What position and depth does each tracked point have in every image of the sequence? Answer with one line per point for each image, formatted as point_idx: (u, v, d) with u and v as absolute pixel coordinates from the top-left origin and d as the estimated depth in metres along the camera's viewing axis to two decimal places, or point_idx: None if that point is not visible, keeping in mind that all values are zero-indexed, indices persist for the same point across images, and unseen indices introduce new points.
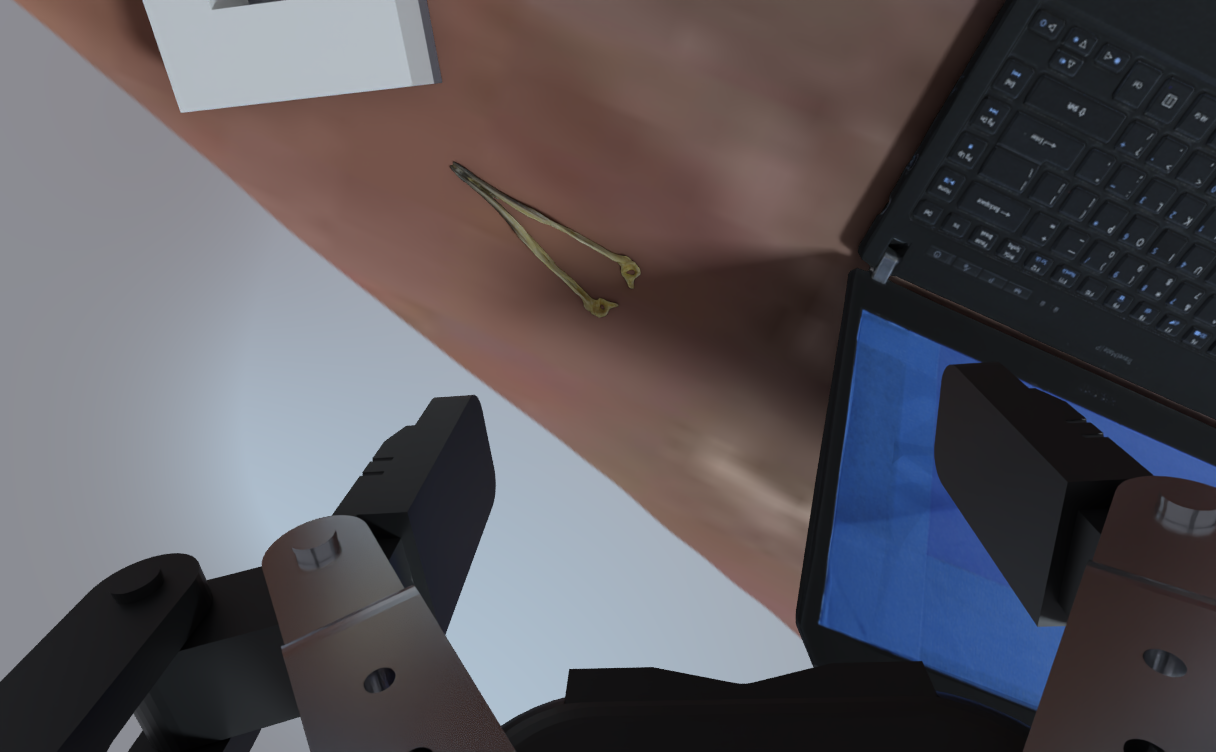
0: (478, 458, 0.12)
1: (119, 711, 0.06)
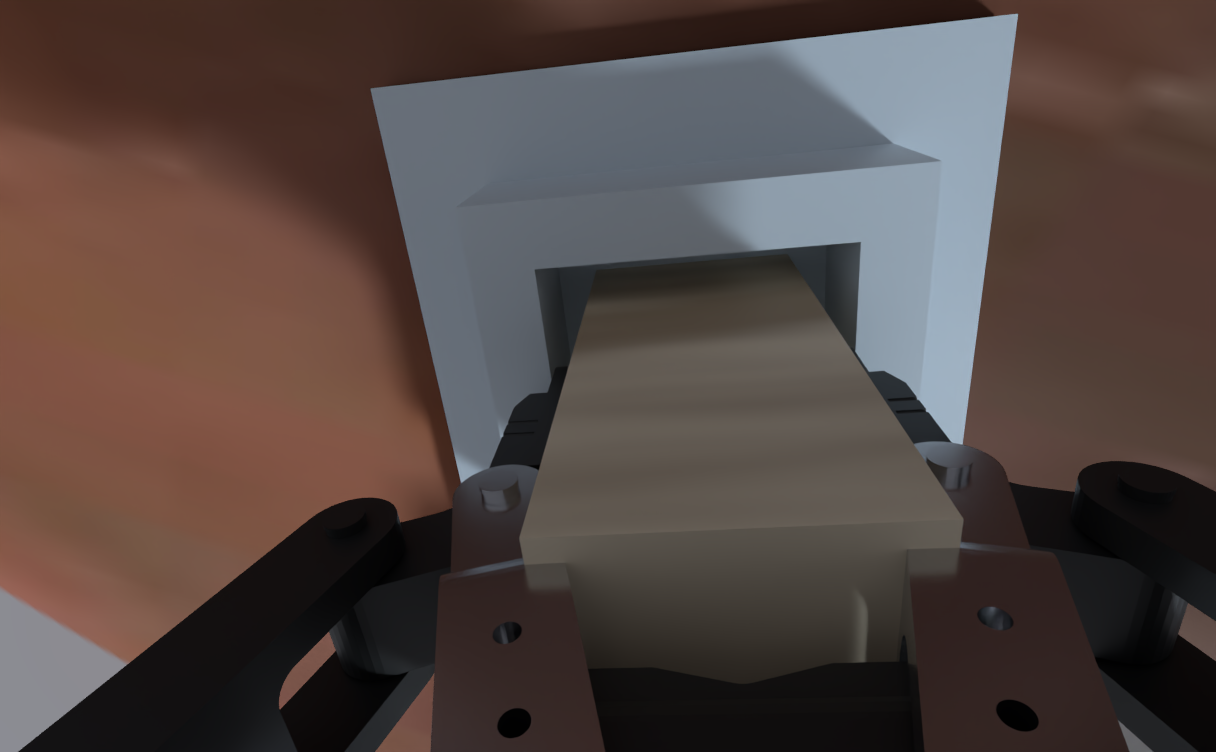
0: None
1: (303, 640, 0.07)
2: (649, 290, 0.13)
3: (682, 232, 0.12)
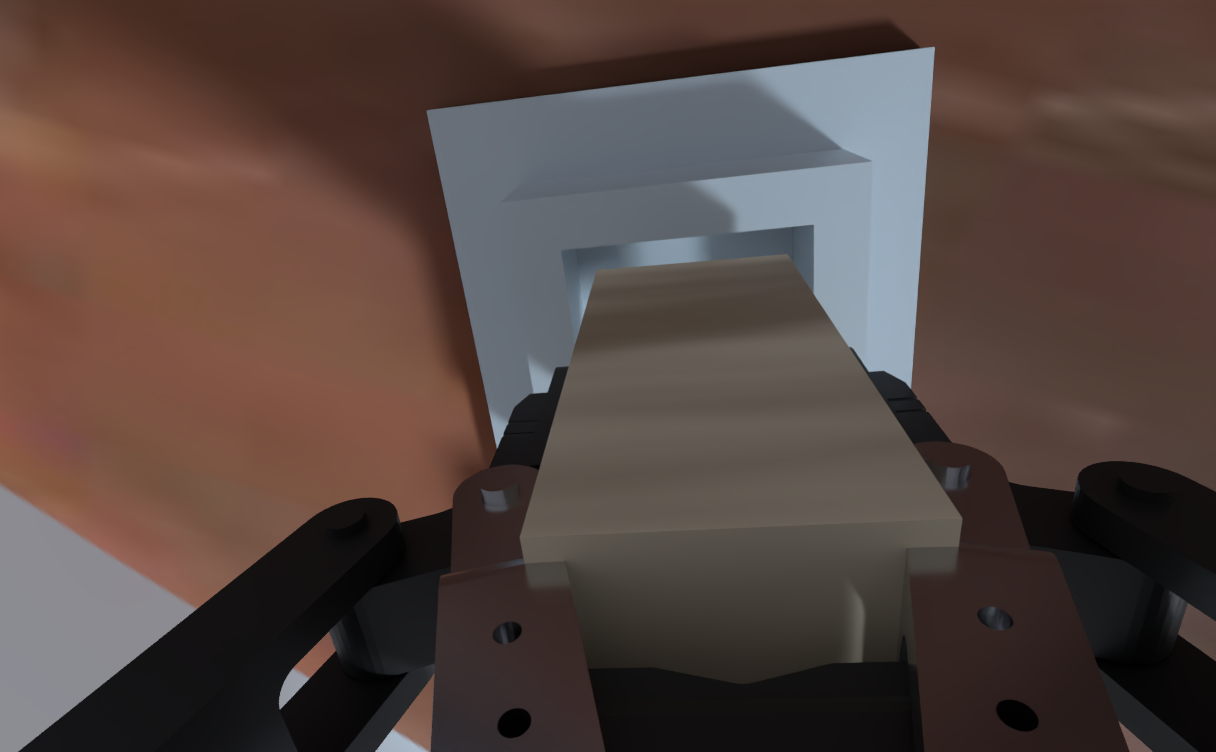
0: None
1: (303, 640, 0.07)
2: (649, 289, 0.13)
3: (676, 219, 0.15)
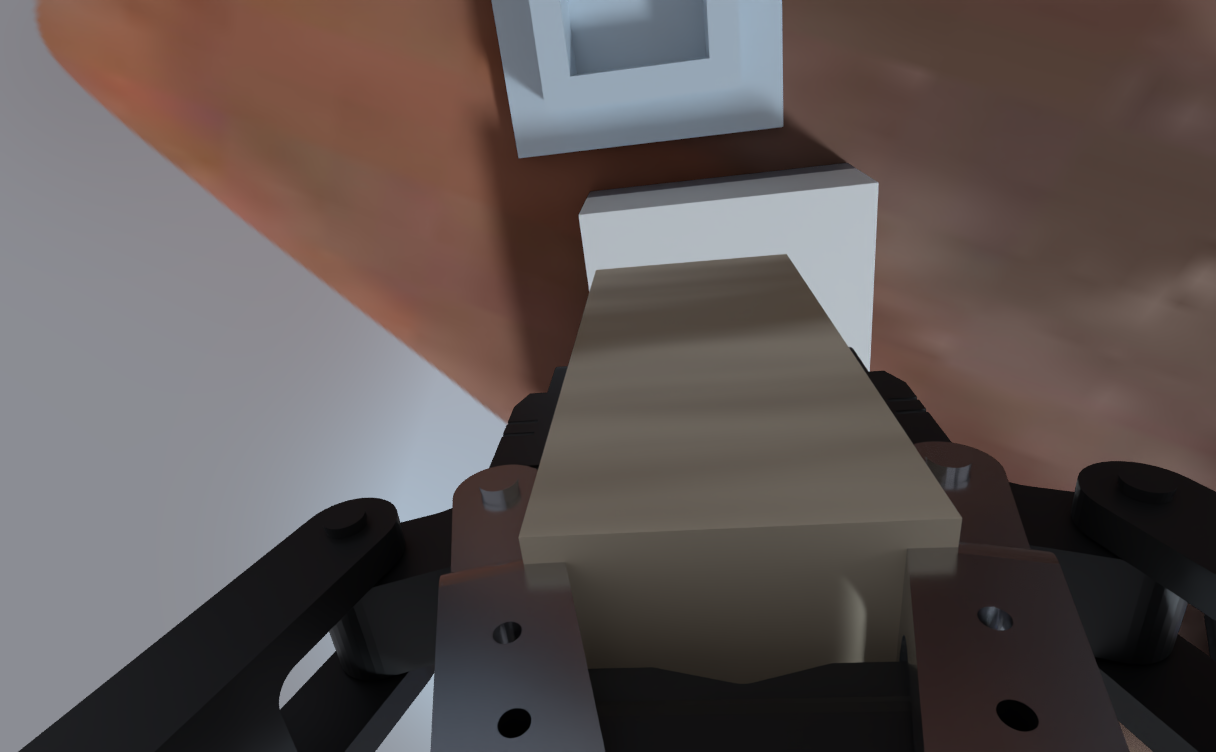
0: None
1: (303, 640, 0.07)
2: (648, 289, 0.13)
3: None
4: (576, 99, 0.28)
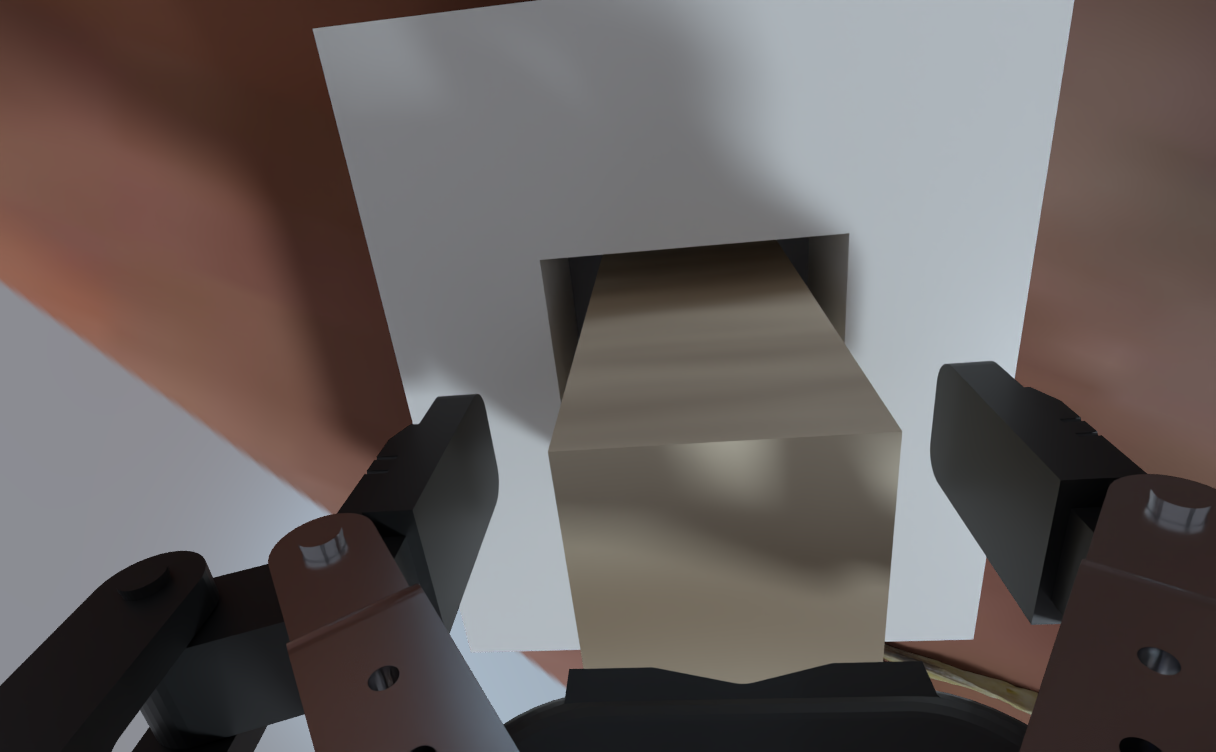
0: (481, 456, 0.12)
1: (125, 708, 0.06)
2: (650, 268, 0.14)
3: None
4: None
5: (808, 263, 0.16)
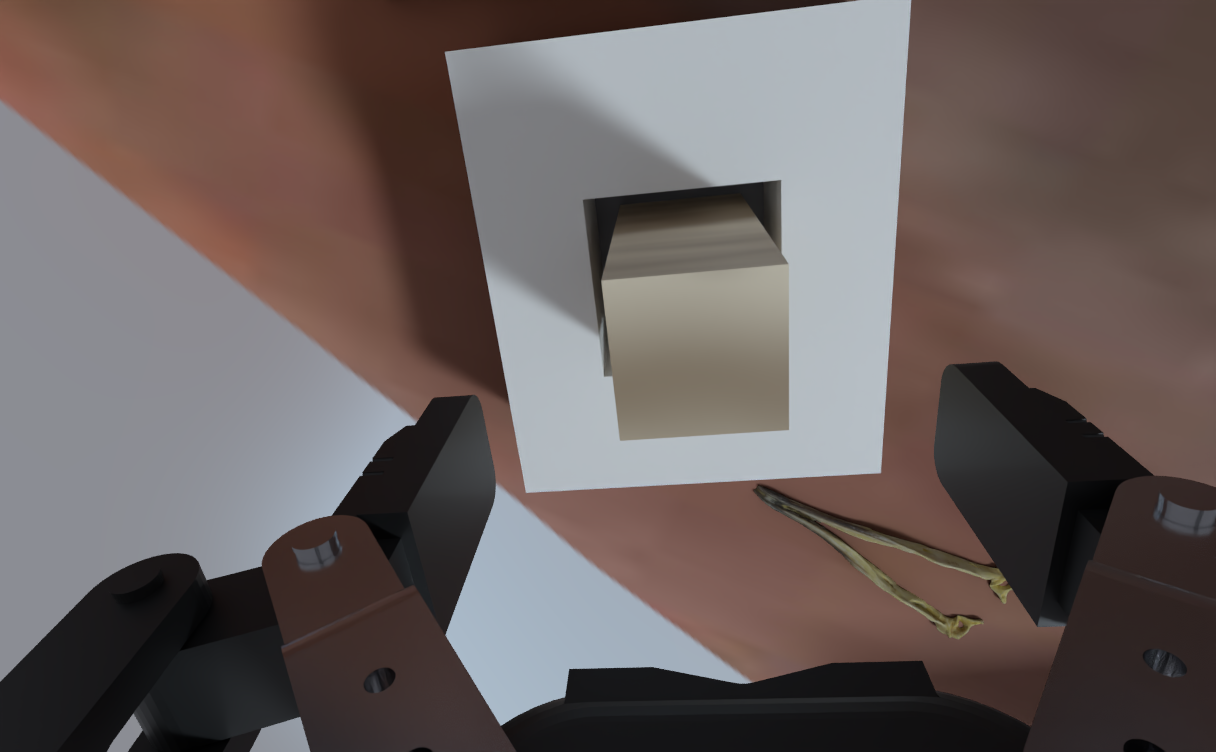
0: (477, 458, 0.12)
1: (119, 711, 0.06)
2: (654, 211, 0.21)
3: None
4: None
5: (763, 211, 0.23)
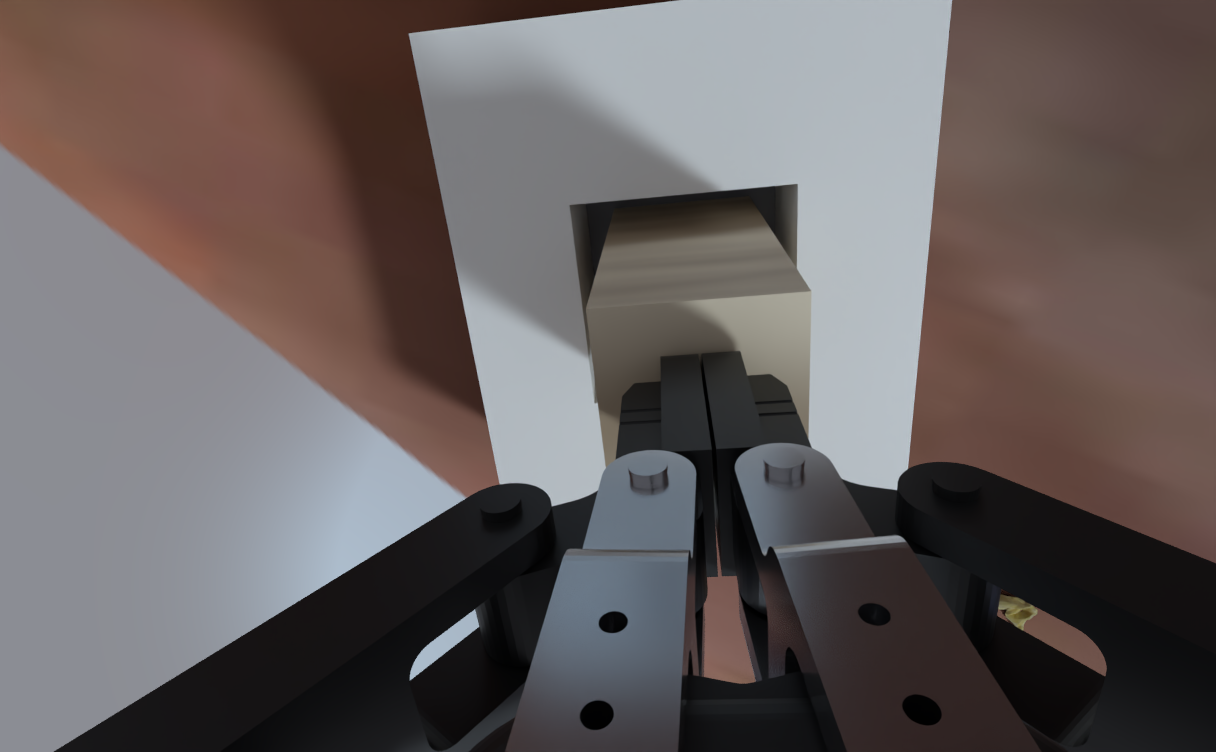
0: None
1: (440, 621, 0.07)
2: (652, 217, 0.19)
3: None
4: None
5: (775, 216, 0.20)
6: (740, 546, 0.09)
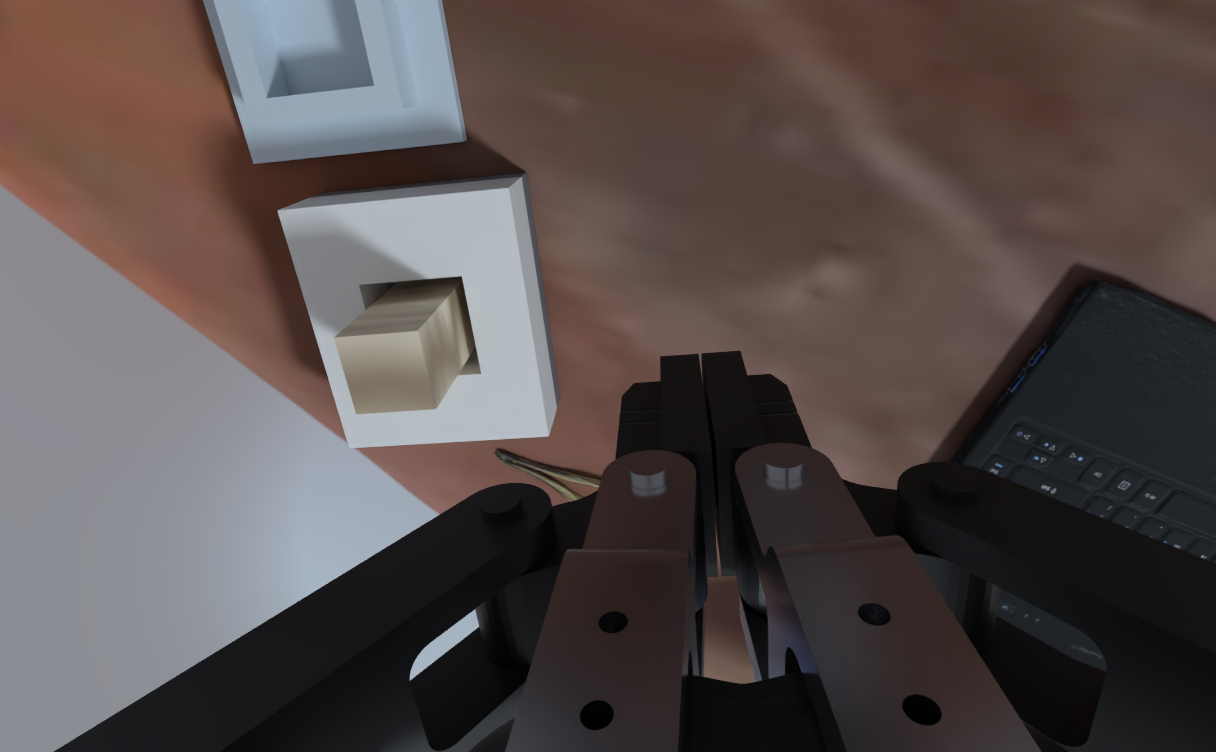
0: None
1: (440, 621, 0.07)
2: (410, 287, 0.38)
3: None
4: (274, 116, 0.34)
5: None
6: (740, 546, 0.09)
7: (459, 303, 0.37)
